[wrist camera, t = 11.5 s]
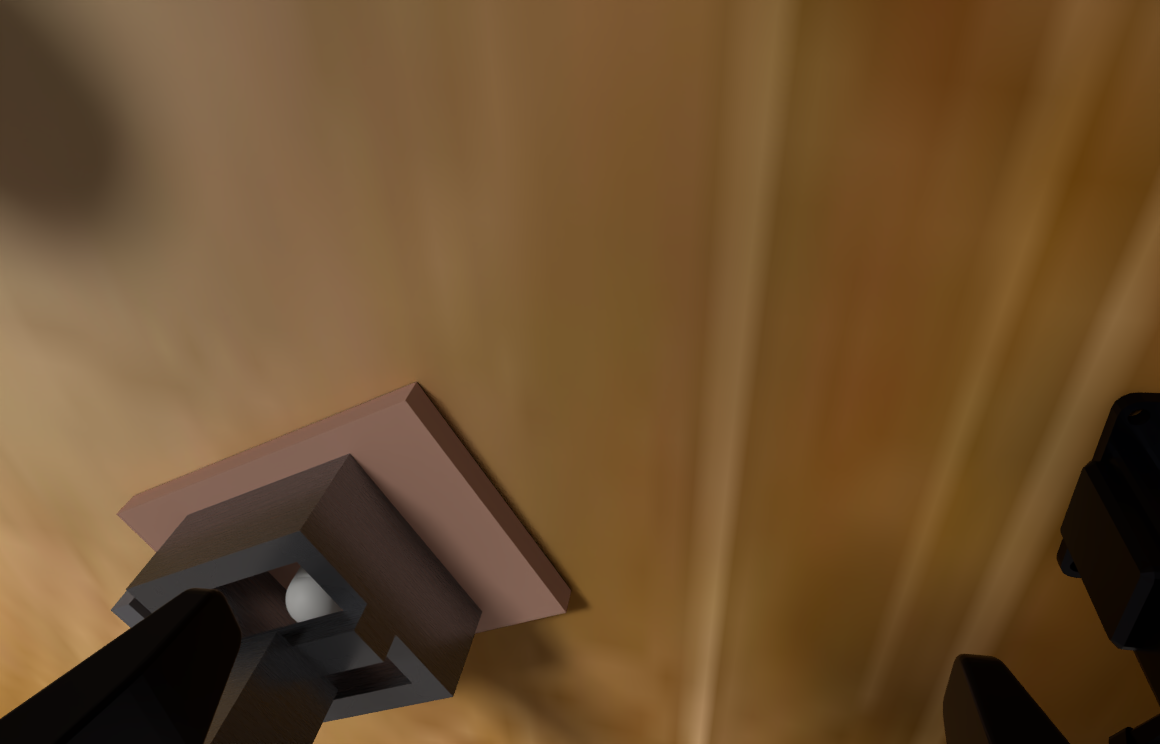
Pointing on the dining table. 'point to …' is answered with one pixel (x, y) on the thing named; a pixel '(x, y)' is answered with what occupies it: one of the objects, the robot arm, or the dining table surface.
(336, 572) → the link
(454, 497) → the plate
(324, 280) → the dining table surface
